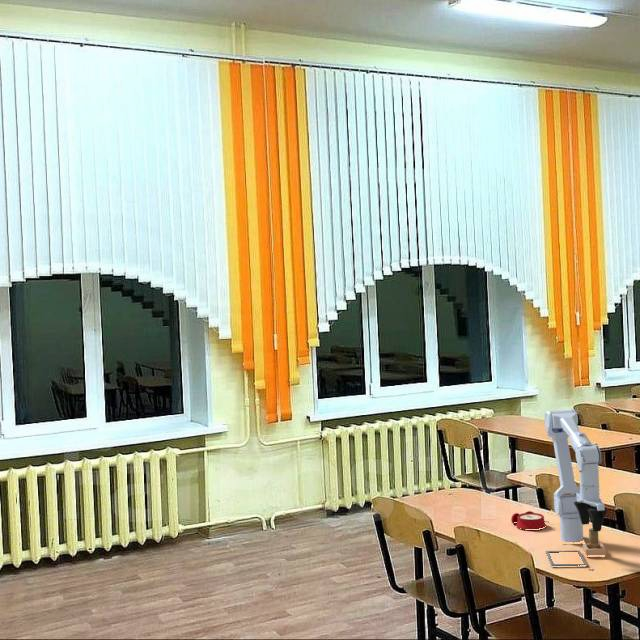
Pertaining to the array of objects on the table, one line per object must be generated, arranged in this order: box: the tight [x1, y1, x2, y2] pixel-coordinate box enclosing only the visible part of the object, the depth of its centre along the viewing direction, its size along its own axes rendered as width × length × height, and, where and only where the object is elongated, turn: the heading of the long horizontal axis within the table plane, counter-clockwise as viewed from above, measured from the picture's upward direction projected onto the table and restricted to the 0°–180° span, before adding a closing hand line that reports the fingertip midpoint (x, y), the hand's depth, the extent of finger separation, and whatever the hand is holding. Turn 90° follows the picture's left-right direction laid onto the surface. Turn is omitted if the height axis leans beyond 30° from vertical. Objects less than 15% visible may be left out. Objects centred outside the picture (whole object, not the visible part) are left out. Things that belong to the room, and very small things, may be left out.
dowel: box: [588, 527, 600, 549], centre depth 269 cm, size 3×3×8 cm
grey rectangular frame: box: [545, 550, 588, 567], centre depth 265 cm, size 14×11×1 cm
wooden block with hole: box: [582, 542, 607, 556], centre depth 269 cm, size 6×6×3 cm
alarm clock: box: [511, 510, 550, 530], centre depth 305 cm, size 10×6×15 cm
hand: (591, 527), depth 265 cm, fingers open, 7 cm apart
